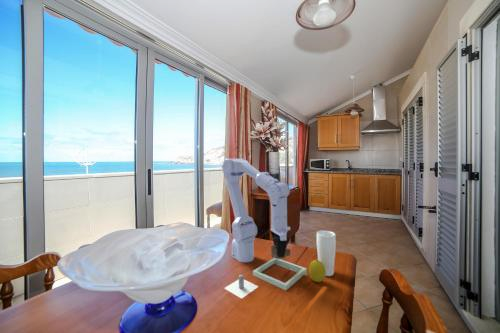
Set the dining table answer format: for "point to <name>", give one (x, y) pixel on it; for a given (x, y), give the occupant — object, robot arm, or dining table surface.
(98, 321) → the dining table surface
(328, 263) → the drinking glass
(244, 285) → the white base with peg
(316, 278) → the lemon
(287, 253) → the ring
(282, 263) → the tray
